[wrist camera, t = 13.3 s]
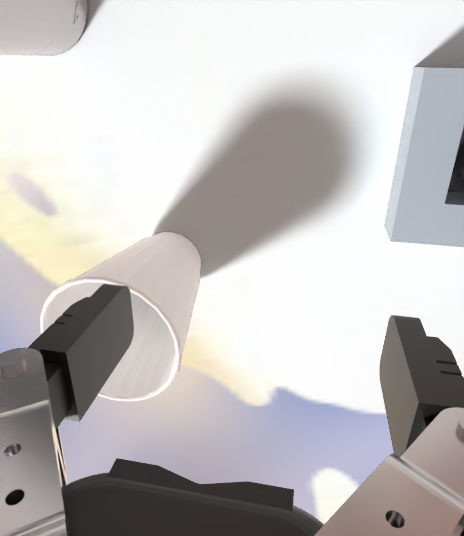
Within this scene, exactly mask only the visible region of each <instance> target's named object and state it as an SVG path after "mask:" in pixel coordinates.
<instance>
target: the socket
mask: <svg viewBox="0 0 464 536" xmlns="http://www.w3.org/2000/svg"><path fill="white" fill-rule="evenodd" d="M463 127H464V68H440V67H414V70H413V75H412V81H411V86H410V92H409V97H408V102H407V108H406V113H405V118H404V124H403V129H402V135H401V140H400V145H399V151H398V156H397V162H396V167H395V172H394V178H393V183H392V188H391V194H390V199H389V205H388V210H387V215H386V221H385V228H386V231H387V233H388V236H389V238H390V241H396V242H408V243H420V244H433V245H445V246H457V247H464V193H454V192H448V188H449V184H450V180H451V176H452V172H453V167H454V163H455V159H456V155H457V151H458V147H459V143H460V139H461V135H462V131H463Z"/></svg>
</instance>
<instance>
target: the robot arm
mask: <svg viewBox="0 0 464 536" xmlns="http://www.w3.org/2000/svg"><path fill="white" fill-rule="evenodd" d="M87 12H88V5H87V0H0V55H37V56H54V55H58V54H62V53H64V52H66V51H67V50H69V49H71V48H72V47H73V46H74V45H75V44H76V43H77V41H78V40H79V38H80V36H81V35H82V33H83V30H84V27H85V24H86V19H87ZM133 335H134V323H133V313H132V304H131V294H130V290H129V288H128V287H127V286H122V285H113V284H103V285H101V286H100V287H99V288H98V290H97V291H96V292H95V293H94V294H93V295H92V296H91V297H85V298H83V299H81V300H79V301H77V302H76V303H74V304H72V305H71V306H70V307H69V308H68V309H67V310H66V311H65V312H64V313H63V314H62V316H60V317H59V318H58V319H57V320H55V321H54V324H51V325H50V326H49V327H48V328H47V329H46V330H45V331H44V332H43V333H42V334H41V335H40V336H39V337H38V338H37V339H36V340H35V341H34V342H33V343H32V344H31V345H30V346H29V347H28V348H17V349H12V350H9V351H6V352H3V353H1V354H0V536H464V378H463V376H461V374H462V373H461V371H460V369H459V367H458V365H457V362H456V360H455V358H454V356H453V353H452V351H451V349H450V348H448V347H447V346H446V345H445V344H444V343H443V342H442V341H441V340H440V339H439V338H437V337H428V336H426V333H425V331H424V328H423V326H422V323H421V321H420V319H419V318H413V317H404V316H395V315H392V316H391V317H390V319H389V322H388V327H387V332H386V336H385V341H384V346H383V350H382V355H381V360H380V382H381V387H382V392H383V398H384V403H385V408H386V414H387V419H388V424H389V429H390V435H391V440H392V445H393V450H394V454H391V455H389V456H388V457H387V458H386V459H385V460H384V461H383V462H382V463H381V464H380V465H379V466H378V467H377V468H376V470H375V471H374V472H373V473H372V474H371V475H370V476H369V477H368V478H367V479H366V480H365V481H364V482H363V483H362V485H361V486H360V487H359V488H358V489H357V490H356V491H355V492H354V493H353V494H352V495H351V496H350V497H349V499H348V500H347V501H346V502H345V503H344V504H343V505H342V506H341V507H340V508H339V509H338V510H337V512H336V513H335V514H334V515H333V516H332V517H331V518H330V519H329V520H328V521H327V522H326V523H325V525H324V524H323V523H322V522H320V521H319V520H318V519H316V518H315V517H314V516H312V515H311V514H309V513H307V512H305V511H304V510H302V509H300V508H298V507H296V506H293V496H294V490H293V489H287V488H281V487H276V486H270V485H264V484H258V483H253V482H233V483H216V484H198V483H195V482H193V481H190V480H188V479H186V478H184V477H181V476H179V475H177V474H175V473H173V472H171V471H168V470H166V469H164V468H162V467H160V466H157V465H151V464H146V463H139V462H135V461H129V460H123V459H116V461H115V462H114V464H113V467H112V468H111V470H110V472H109V473H103V474H97V475H92V476H89V477H85V478H82V479H79V480H77V481H74V482H72V483H70V484H69V483H68V478H67V472H66V466H65V460H64V455H63V449H62V443H61V437H60V432H59V427H58V426H59V425H60V423H61V422H62V420H63V419H67V420H73V421H80V420H81V419H82V417H83V416H84V414H85V412H86V411H87V410H88V408H89V407H90V405H91V404H92V402H93V401H94V399H95V398H96V396H97V395H98V393H99V392H100V390H101V389H102V387H103V386H104V384H105V383H106V381H107V380H108V378H109V377H110V375H111V374H112V372H113V371H114V369H115V368H116V366H117V365H118V363H119V362H120V360H121V359H122V357H123V356H124V354H125V353H126V351H127V350H128V348H129V347H130V345H131V342H132V339H133Z"/></svg>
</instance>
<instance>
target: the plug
mask: <svg viewBox="0 0 464 536" xmlns="http://www.w3.org/2000/svg"><path fill="white" fill-rule="evenodd" d="M454 167H455V170H456V172H457V174H458V175H459V176H460V177H461V178H462V179H463V180H464V142H463V143H462V144H461V146H460V147H459V148H458V151H457V155H456V159H455V163H454Z"/></svg>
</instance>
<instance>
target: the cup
mask: <svg viewBox="0 0 464 536" xmlns="http://www.w3.org/2000/svg"><path fill="white" fill-rule="evenodd" d="M200 269H201V257H200V255H199V252H198V250H197V248H196V247H195V246H194V244H193V243H192V242H191V241H190V240H188V239H187V238H186V237H184V236H182V235H180V234H177V233H173V232H162V233H158V234H156V235H154V236H151V237H147V238H144V239H142V240H141V241H139V242H137V243H135V244H134V245H132V246H130V247H128V248H127V249H125V250H123V251H121V252H120V253H118V254H116V255H114V256H113V257H111V258H109V259H107V260H106V261H104V262H102V263H100V264H99V265H97V266H95V267H94V268H92V269H90V270H88V271H87V272H85V273H83V274H81V275H80V276H78V277H76V278H74V279H71V280H68V281H67V282H65V283H63V284H62V285H60V286H59V287H57V288H56V289H54V291H53V292H52V293H51V295H50V296H49V297H48V299H47V300H46V301H45V303H44V306H43V310H42V313H41V316H40V318H41V334H42V333H43V332H44V331H45V330H46V329H47V328H48V327H49V326H50V325H51V324H54V321H55V320H57V319H58V318H59V317H60V316H62V314H63V313H64V312H65V311H66V310H67V309H68V308H69V307H70V306H71V305H72V304H74V303H76V302H77V301H79V300H81V299H83V298H85V297H91V296H92V295H93V294H94V293H95V292H96V291H97V290H98V288H99V287H100V286H101V285H103V284H113V285H122V286H127V287H128V288H129V290H130V294H131V304H132V313H133V323H134V335H133V339H132V342H131V345H130V347H129V348H128V350H127V351H126V353H125V354H124V356H123V357H122V359H121V360H120V362H119V363H118V365H117V366H116V368H115V369H114V371H113V372H112V374H111V375H110V377H109V378H108V380H107V381H106V383H105V384H104V386H103V387H102V389H101V390H100V392H99V393H98V395H99V396H102V397H106V398H109V399H112V400H121V401H136V400H143V399H148V398H150V397H152V396H155V395H157V394H159V393H161V392H162V391H163V390H165V389H166V388H167V387H168V386H169V385H170V384H172V382H173V381H174V378H175V377H176V375H177V373H178V372H179V370H180V365H181V359H182V352H183V348H184V344H185V340H186V336H187V332H188V328H189V324H190V320H191V316H192V312H193V307H194V303H195V299H196V295H197V291H198V287H199V282H200V277H201V275H200Z"/></svg>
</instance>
